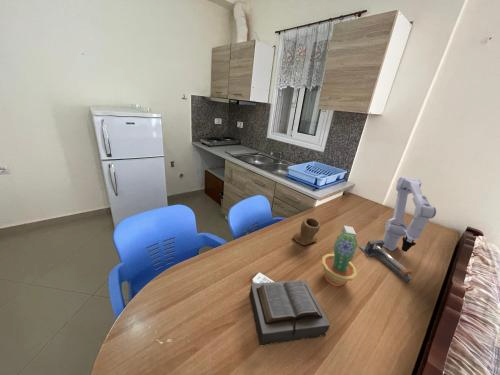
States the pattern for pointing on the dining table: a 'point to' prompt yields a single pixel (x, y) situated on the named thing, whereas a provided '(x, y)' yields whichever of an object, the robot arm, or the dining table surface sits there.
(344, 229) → the small box
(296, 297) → the bible
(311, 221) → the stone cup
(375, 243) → the grey hammer
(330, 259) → the potted cactus
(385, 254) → the metal rod with plate
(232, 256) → the dining table surface
